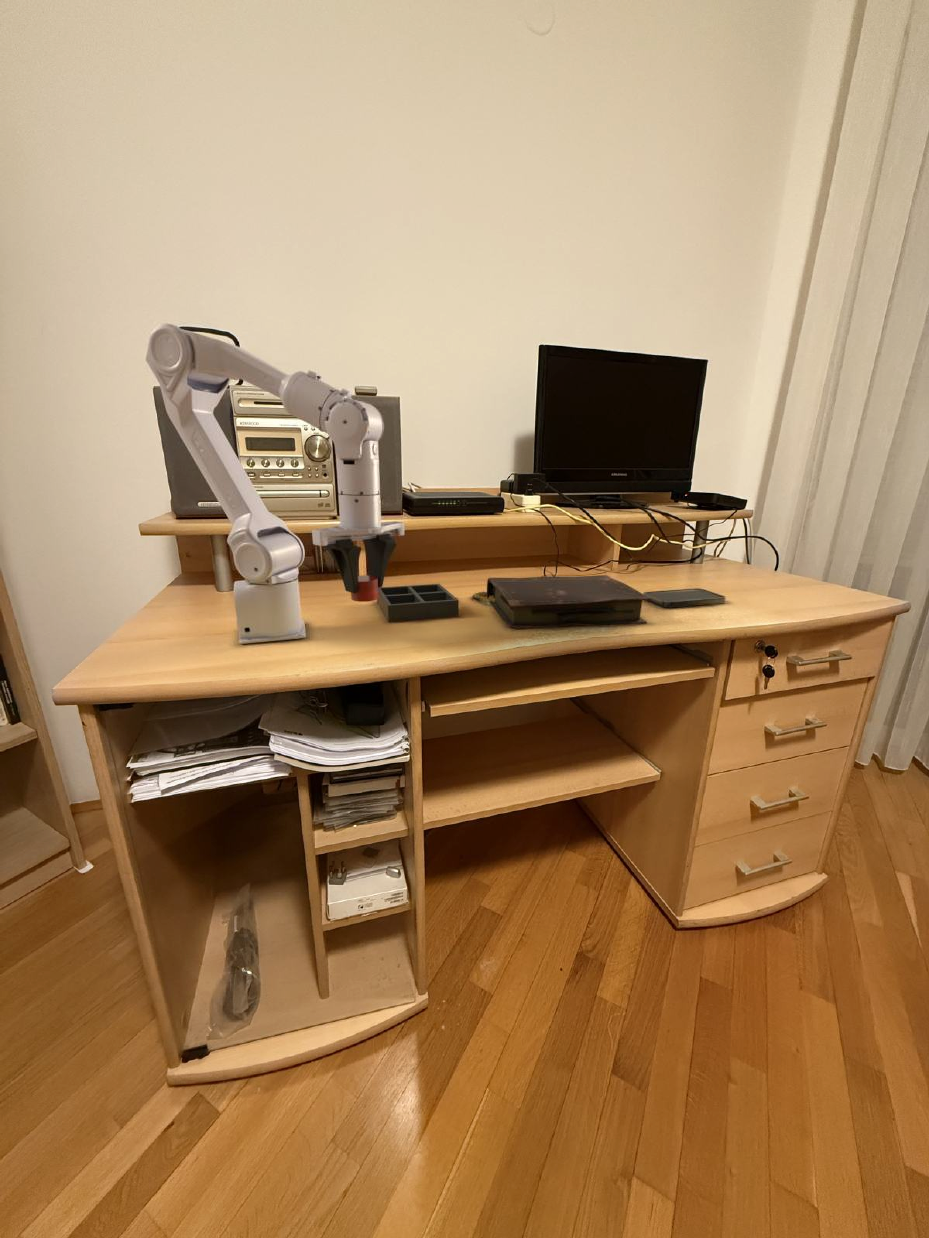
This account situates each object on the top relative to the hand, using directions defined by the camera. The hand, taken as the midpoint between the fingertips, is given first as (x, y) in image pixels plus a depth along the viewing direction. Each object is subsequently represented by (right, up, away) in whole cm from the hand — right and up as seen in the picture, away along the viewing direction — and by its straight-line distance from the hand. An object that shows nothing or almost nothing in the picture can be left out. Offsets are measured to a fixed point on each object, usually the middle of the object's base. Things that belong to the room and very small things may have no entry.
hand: (364, 588), depth 72 cm
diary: (+33, -3, +20) cm, 39 cm away
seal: (+24, -1, +26) cm, 35 cm away
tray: (+6, -3, +20) cm, 20 cm away
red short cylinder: (0, -1, 0) cm, 1 cm away
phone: (+60, -1, +28) cm, 66 cm away
